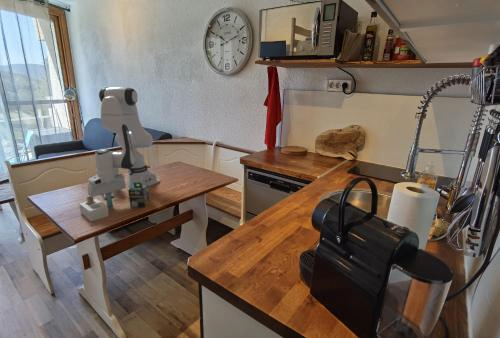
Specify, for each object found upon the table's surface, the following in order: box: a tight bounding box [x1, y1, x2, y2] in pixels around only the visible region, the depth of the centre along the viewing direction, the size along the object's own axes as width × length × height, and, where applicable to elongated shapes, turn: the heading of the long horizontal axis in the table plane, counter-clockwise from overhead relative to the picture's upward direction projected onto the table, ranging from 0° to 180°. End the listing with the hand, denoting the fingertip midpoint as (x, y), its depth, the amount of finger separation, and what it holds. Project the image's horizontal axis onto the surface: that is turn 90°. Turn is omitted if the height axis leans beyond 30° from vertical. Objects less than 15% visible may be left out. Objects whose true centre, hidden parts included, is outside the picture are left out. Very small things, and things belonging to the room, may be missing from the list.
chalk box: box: [127, 183, 151, 208], centre depth 161 cm, size 9×9×15 cm
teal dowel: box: [104, 192, 114, 209], centre depth 157 cm, size 3×3×10 cm
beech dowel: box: [86, 195, 94, 205], centre depth 150 cm, size 3×3×10 cm
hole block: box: [78, 198, 110, 222], centre depth 148 cm, size 9×14×6 cm, turn 51°
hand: (109, 199), depth 157 cm, fingers closed on teal dowel, 3 cm apart
